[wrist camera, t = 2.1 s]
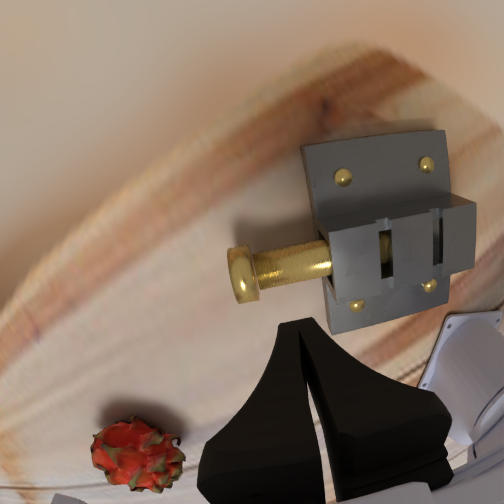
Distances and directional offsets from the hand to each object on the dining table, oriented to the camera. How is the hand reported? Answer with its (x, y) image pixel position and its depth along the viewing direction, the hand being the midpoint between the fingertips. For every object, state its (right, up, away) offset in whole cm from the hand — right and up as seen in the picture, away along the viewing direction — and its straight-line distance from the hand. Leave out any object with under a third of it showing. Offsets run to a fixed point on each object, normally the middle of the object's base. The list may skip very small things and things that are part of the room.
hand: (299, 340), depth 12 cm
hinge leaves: (+7, +5, +9) cm, 13 cm away
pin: (+3, +4, +8) cm, 10 cm away
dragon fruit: (-14, -16, +16) cm, 26 cm away
